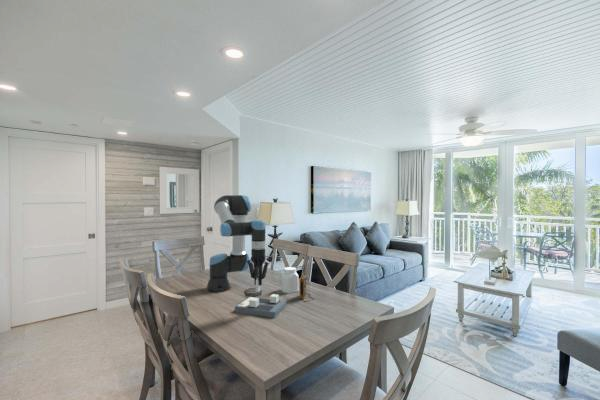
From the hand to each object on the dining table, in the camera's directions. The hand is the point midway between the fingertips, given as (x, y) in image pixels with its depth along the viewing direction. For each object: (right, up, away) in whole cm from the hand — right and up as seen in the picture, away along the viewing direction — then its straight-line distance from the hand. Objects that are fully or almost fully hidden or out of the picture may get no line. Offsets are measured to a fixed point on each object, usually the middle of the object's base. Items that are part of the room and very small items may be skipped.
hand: (258, 290), depth 153 cm
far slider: (+8, -8, +6) cm, 13 cm away
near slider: (-2, -8, 0) cm, 9 cm away
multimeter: (+29, -12, +22) cm, 38 cm away
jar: (+16, -12, +36) cm, 41 cm away
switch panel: (+1, -12, +4) cm, 12 cm away
